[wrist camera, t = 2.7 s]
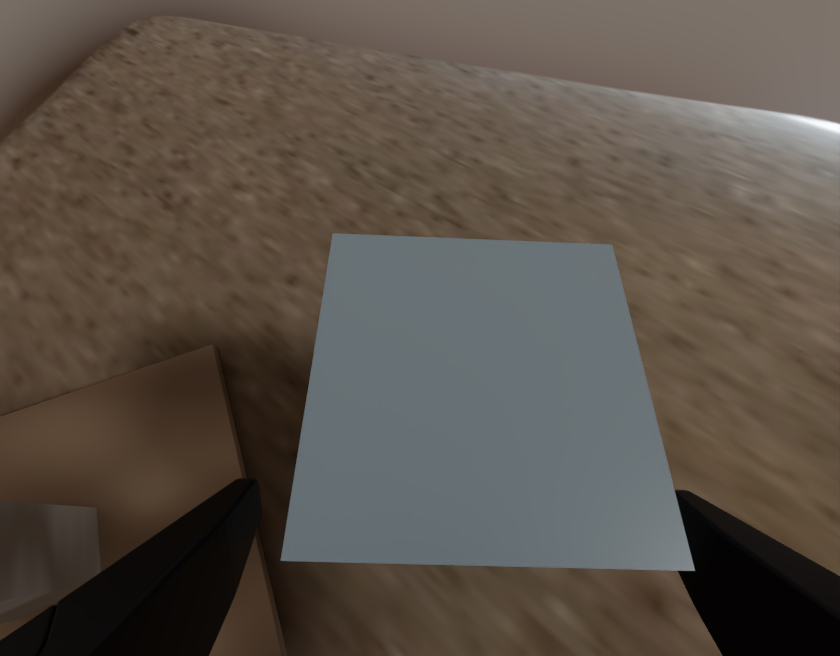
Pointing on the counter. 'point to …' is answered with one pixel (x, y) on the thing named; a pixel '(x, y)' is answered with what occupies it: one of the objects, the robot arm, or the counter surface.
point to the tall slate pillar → (480, 413)
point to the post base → (122, 489)
